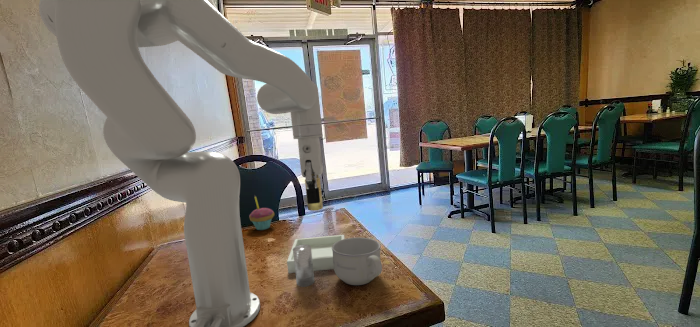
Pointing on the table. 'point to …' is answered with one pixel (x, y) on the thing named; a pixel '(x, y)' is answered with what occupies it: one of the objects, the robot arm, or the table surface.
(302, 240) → the tray
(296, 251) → the steel roller
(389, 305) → the table surface
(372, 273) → the teacup
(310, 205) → the brass roller
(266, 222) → the cupcake
